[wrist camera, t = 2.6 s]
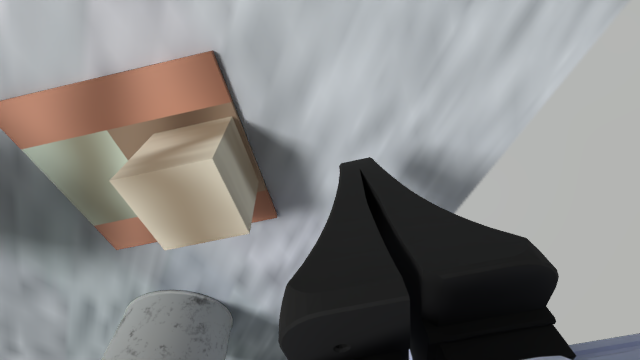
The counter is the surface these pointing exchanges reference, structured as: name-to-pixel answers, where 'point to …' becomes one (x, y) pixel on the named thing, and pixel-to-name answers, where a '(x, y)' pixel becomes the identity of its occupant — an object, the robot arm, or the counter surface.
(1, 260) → the counter surface
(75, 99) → the board
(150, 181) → the birch block
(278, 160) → the counter surface
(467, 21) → the counter surface
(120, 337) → the grey marbled cylinder
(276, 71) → the counter surface
